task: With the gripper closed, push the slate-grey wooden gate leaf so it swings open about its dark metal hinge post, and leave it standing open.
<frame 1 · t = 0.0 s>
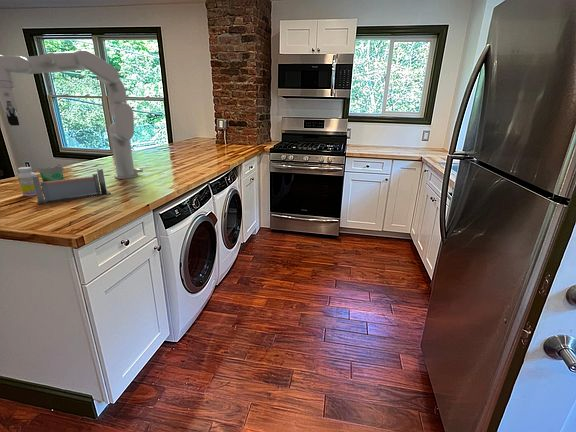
hand: (14, 124, 143), 31 cm above the counter, tool pointing down, fingers open, 9 cm apart
supplement bottle: (32, 194, 145), on the counter
gate: (72, 186, 140), point 6 cm above the counter, hinge at 0.0°
gate frame: (98, 194, 149), on the counter
food container: (58, 185, 161), on the counter
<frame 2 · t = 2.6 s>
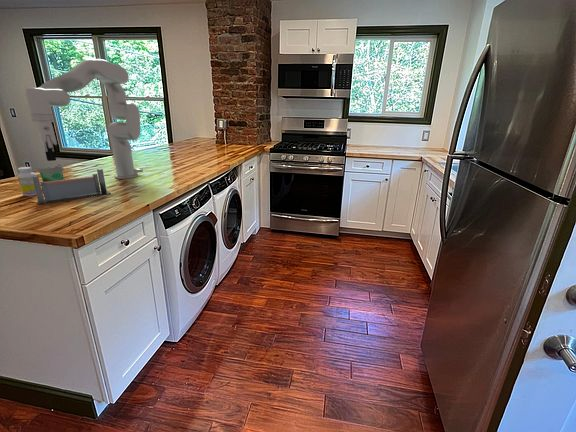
hand: (51, 160, 139), 17 cm above the counter, tool pointing down, fingers closed
nothing on the counter moved.
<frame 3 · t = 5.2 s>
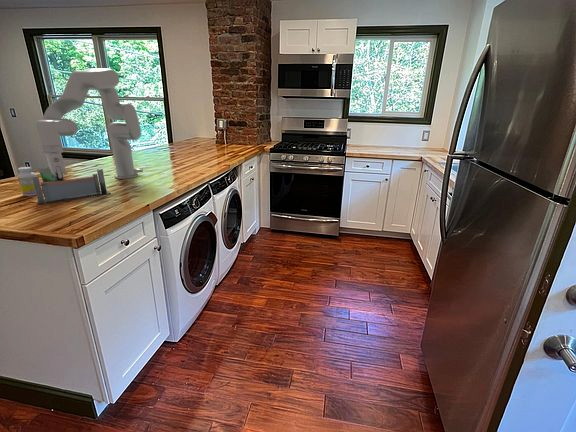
hand: (61, 189, 141), 4 cm above the counter, tool pointing down, fingers closed
gate: (72, 186, 140), point 5 cm above the counter, hinge at 2.8°, touching gripper
everything else where it was.
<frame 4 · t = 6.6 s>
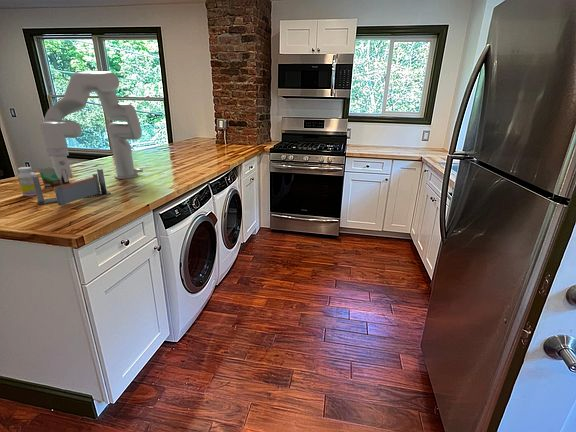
hand: (67, 192, 136), 4 cm above the counter, tool pointing down, fingers closed
gate: (79, 188, 138), point 6 cm above the counter, hinge at 34.3°, touching gripper
everything else where it was.
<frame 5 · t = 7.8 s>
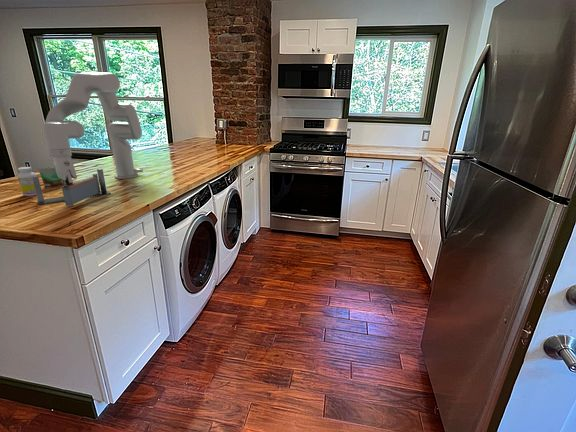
hand: (70, 194, 135), 4 cm above the counter, tool pointing down, fingers closed
gate: (82, 188, 138), point 6 cm above the counter, hinge at 44.5°, touching gripper
everything else where it was.
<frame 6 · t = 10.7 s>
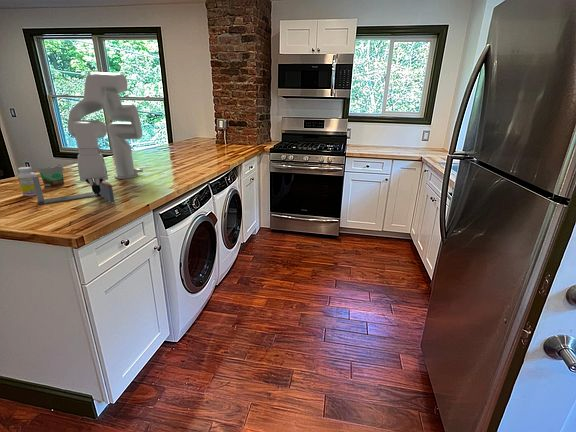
hand: (97, 193, 136), 4 cm above the counter, tool pointing down, fingers closed
gate: (103, 187, 141), point 6 cm above the counter, hinge at 91.7°, touching gripper
everything else where it was.
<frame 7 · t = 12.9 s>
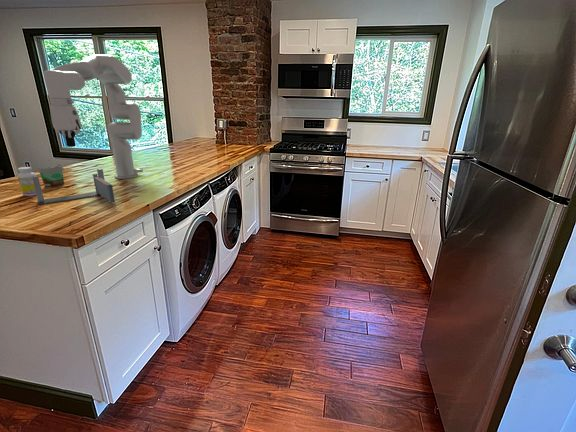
hand: (71, 146, 135), 24 cm above the counter, tool pointing down, fingers closed
gate: (103, 187, 141), point 5 cm above the counter, hinge at 92.1°
everything else where it was.
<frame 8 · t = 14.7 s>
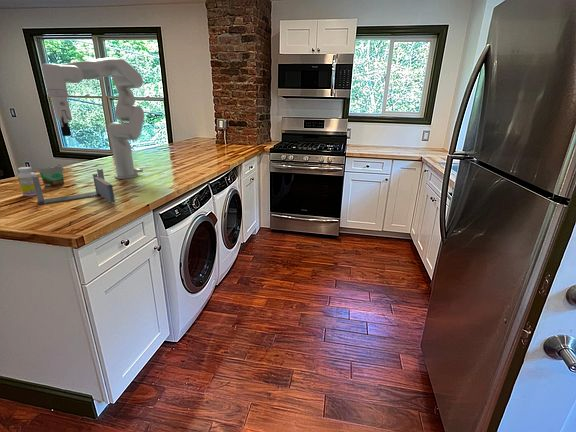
hand: (66, 135, 144), 27 cm above the counter, tool pointing down, fingers closed
nothing on the counter moved.
at the end: gate at +92° (first picture: +0°) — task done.
